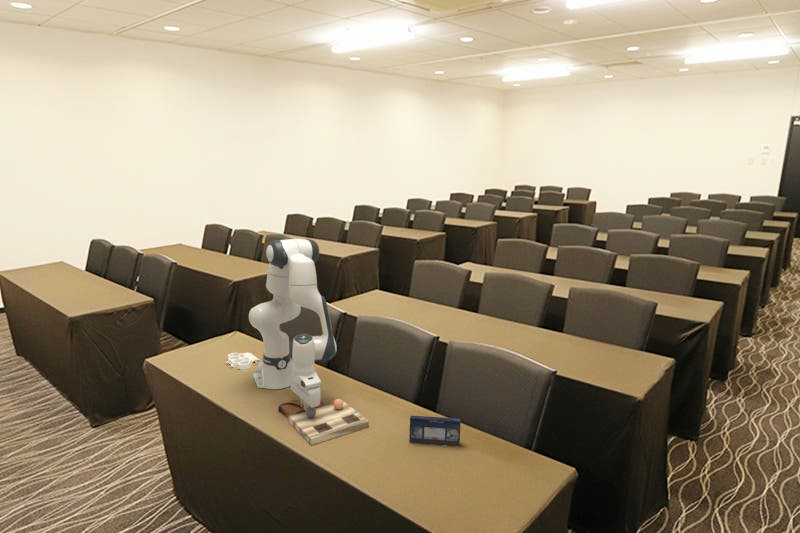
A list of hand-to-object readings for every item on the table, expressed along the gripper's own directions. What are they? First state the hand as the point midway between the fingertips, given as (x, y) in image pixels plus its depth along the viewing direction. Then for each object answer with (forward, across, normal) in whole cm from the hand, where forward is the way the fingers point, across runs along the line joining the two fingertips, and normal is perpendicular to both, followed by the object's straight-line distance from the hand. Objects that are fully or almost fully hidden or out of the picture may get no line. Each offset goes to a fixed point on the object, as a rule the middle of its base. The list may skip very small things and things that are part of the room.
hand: (305, 408), depth 204 cm
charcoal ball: (-1, +5, 0) cm, 5 cm away
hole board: (+4, +10, +5) cm, 12 cm away
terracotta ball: (-1, +5, +12) cm, 13 cm away
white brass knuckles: (+4, -67, -3) cm, 67 cm away
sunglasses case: (+4, -7, +2) cm, 8 cm away
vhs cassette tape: (+4, +43, +31) cm, 53 cm away
